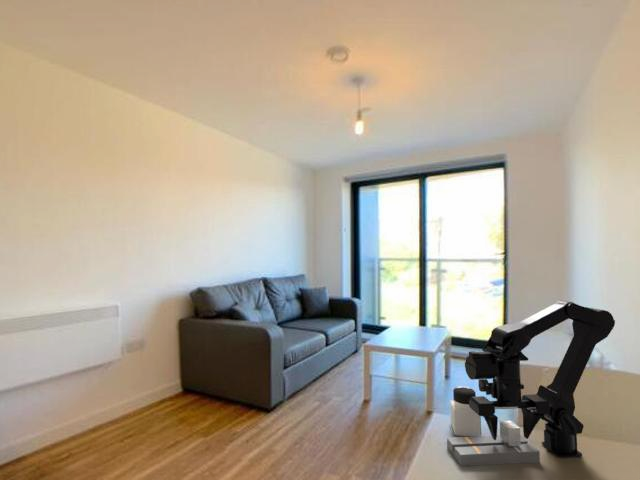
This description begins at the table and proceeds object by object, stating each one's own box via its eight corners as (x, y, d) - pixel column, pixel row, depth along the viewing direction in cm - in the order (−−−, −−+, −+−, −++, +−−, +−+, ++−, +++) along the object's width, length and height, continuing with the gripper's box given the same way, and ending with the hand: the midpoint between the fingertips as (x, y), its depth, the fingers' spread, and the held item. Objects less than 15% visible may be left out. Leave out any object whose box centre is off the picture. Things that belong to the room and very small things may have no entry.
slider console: (519, 444, 95) (519, 434, 95) (539, 461, 87) (539, 450, 87) (447, 447, 94) (446, 437, 94) (460, 465, 86) (460, 454, 86)
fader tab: (511, 444, 93) (510, 420, 93) (520, 452, 89) (520, 428, 89) (500, 444, 93) (499, 421, 93) (509, 453, 89) (508, 428, 89)
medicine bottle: (481, 437, 99) (480, 394, 99) (454, 435, 100) (453, 392, 101) (475, 425, 106) (474, 385, 106) (450, 423, 107) (449, 383, 108)
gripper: (523, 366, 100) (525, 422, 100) (459, 368, 99) (460, 425, 99) (550, 380, 89) (553, 443, 88) (478, 382, 88) (481, 446, 87)
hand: (510, 438), depth 91 cm, fingers open, 8 cm apart
